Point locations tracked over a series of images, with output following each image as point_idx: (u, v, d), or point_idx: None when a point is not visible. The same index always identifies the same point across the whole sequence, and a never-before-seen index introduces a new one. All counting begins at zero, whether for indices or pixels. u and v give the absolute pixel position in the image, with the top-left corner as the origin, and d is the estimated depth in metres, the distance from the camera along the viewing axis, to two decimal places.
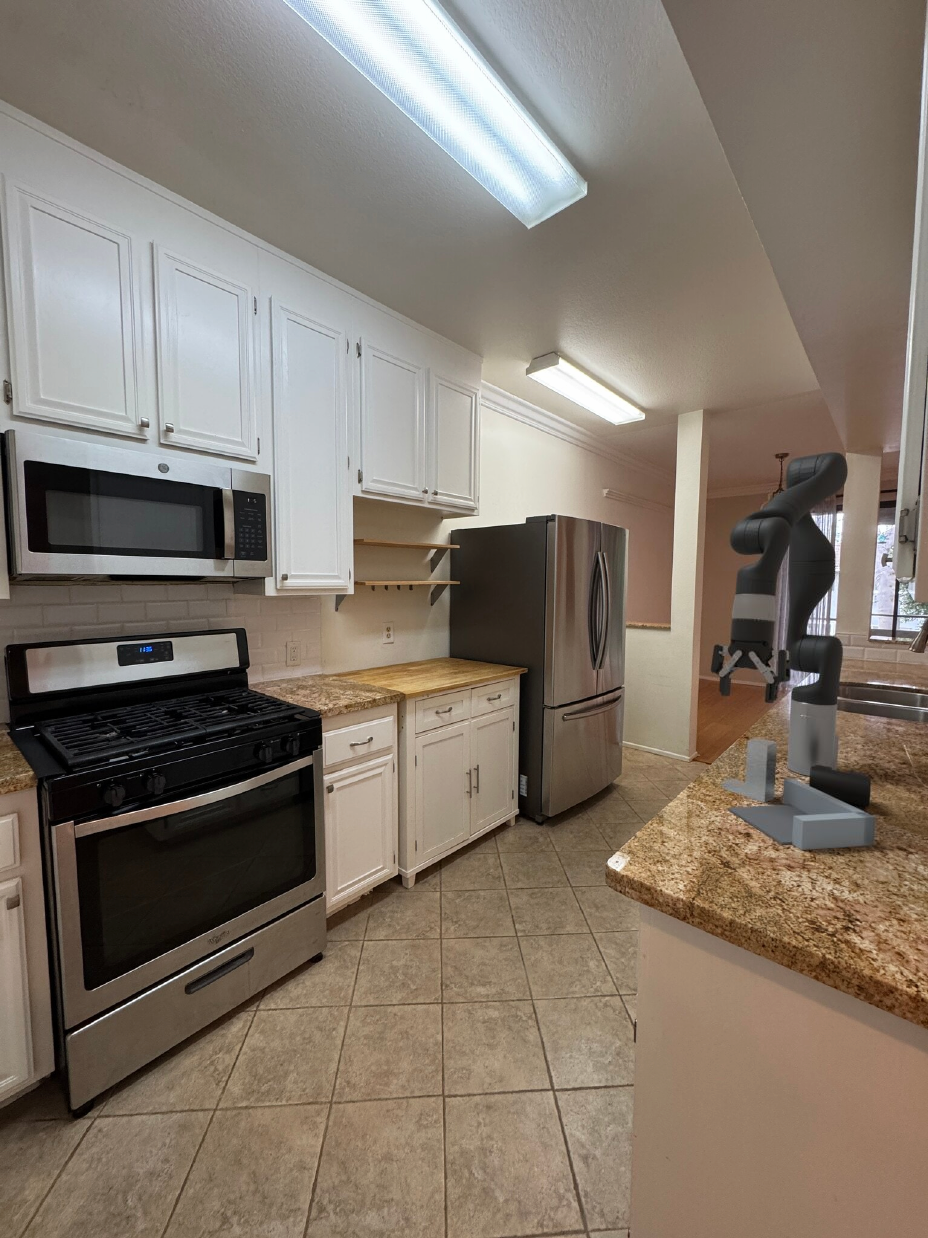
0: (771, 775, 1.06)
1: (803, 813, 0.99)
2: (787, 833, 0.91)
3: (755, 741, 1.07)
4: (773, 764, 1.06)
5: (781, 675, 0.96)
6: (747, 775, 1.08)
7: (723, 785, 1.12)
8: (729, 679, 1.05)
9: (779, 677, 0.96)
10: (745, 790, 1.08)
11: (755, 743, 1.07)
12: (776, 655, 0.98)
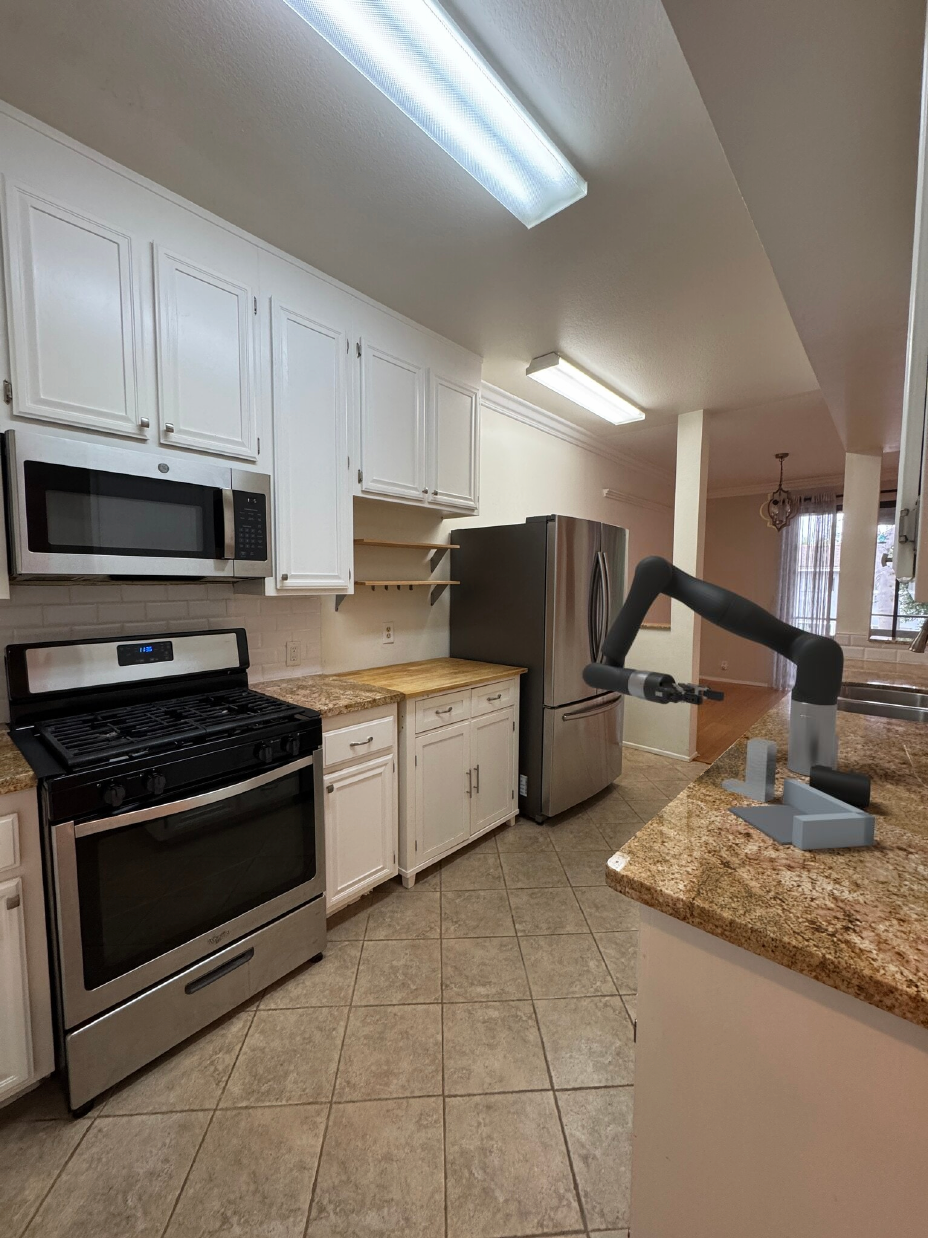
0: (771, 775, 1.06)
1: (803, 813, 0.99)
2: (787, 833, 0.91)
3: (755, 741, 1.07)
4: (773, 764, 1.06)
5: (673, 702, 1.17)
6: (747, 775, 1.08)
7: (723, 785, 1.12)
8: (708, 692, 1.21)
9: None
10: (745, 790, 1.08)
11: (755, 743, 1.07)
12: None
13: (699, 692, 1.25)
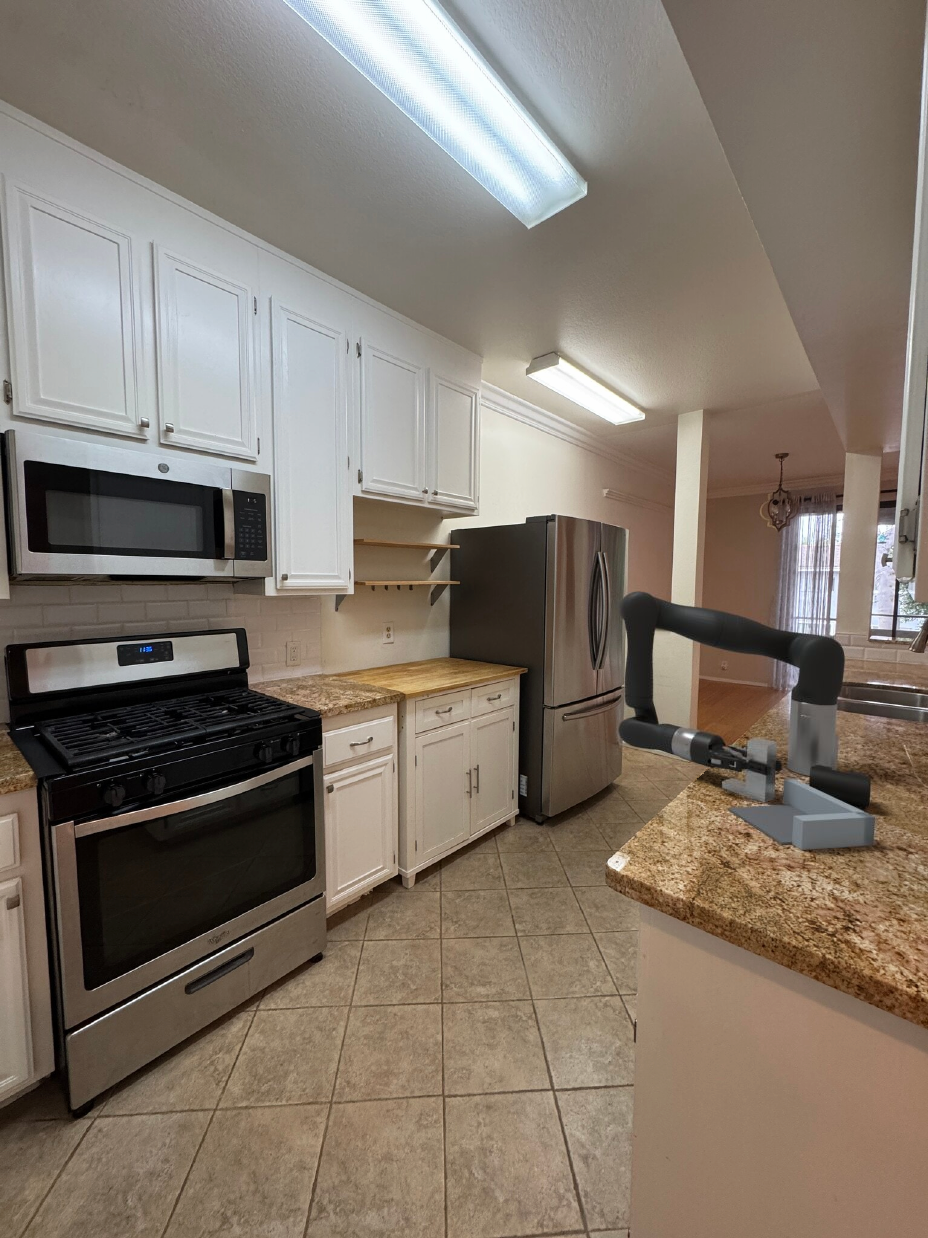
0: (771, 775, 1.06)
1: (803, 813, 0.99)
2: (787, 833, 0.91)
3: (755, 741, 1.07)
4: (773, 764, 1.06)
5: None
6: (747, 775, 1.08)
7: (723, 785, 1.12)
8: None
9: None
10: (745, 790, 1.08)
11: (755, 743, 1.07)
12: None
13: None
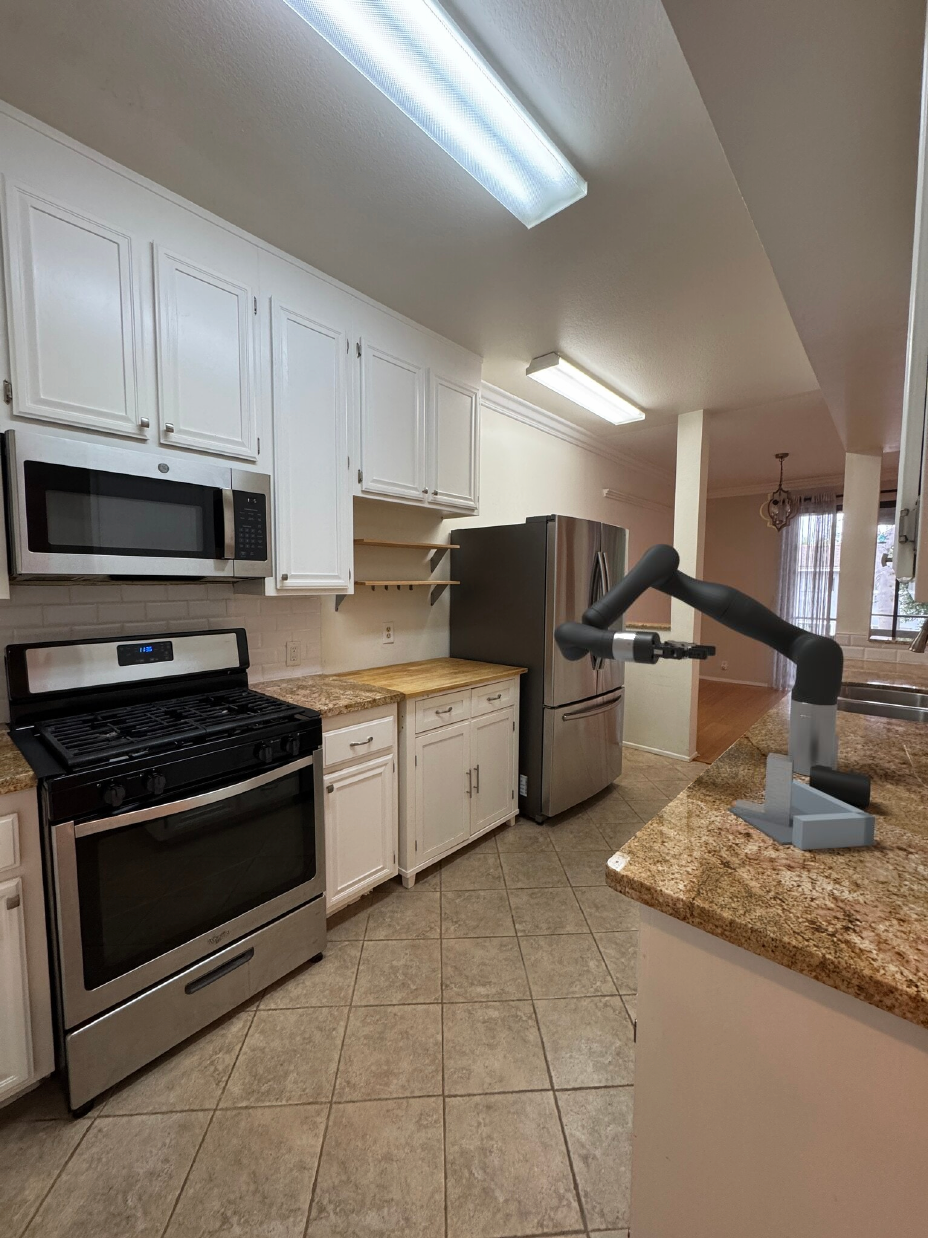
0: (791, 794, 0.95)
1: (803, 813, 0.99)
2: (787, 833, 0.91)
3: (775, 758, 0.95)
4: (792, 781, 0.96)
5: (676, 659, 1.09)
6: (767, 797, 0.96)
7: (736, 809, 0.99)
8: (698, 648, 1.16)
9: None
10: (764, 814, 0.96)
11: (777, 760, 0.94)
12: None
13: None
